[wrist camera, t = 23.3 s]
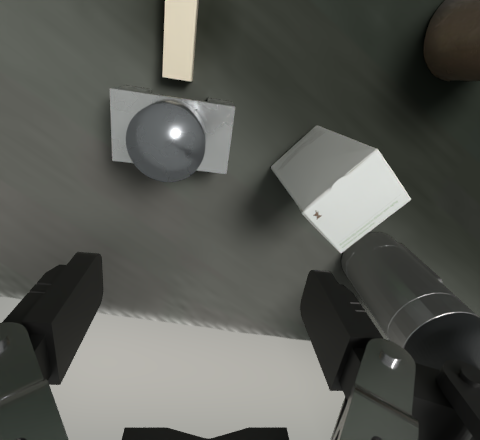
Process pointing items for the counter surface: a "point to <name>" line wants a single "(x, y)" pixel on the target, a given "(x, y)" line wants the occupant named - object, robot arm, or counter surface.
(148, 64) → the counter surface
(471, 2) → the pillar candle
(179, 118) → the grey box with ball
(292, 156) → the skincare box
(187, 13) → the plug rod
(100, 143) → the counter surface
